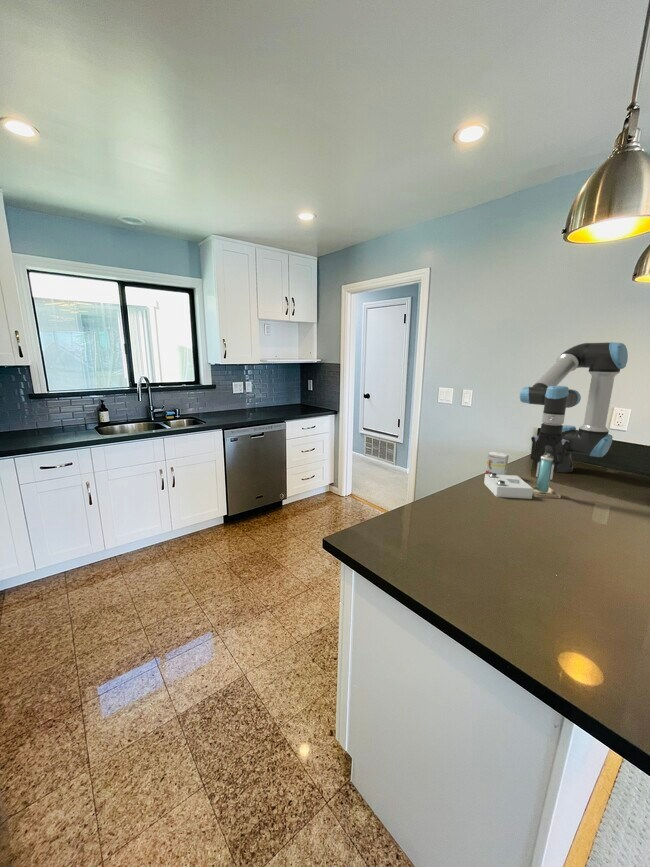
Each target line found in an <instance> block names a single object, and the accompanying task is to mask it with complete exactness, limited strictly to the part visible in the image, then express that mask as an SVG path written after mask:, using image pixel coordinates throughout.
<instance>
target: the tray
mask: <svg viewBox="0 0 650 867" xmlns="http://www.w3.org/2000/svg"><path fill="white" fill-rule="evenodd" d="M530 486H531V487H532V488H533V494H532V497H534V498H542V499H543V498H545V499H547V498H548V499H561V494H559V493H558V492H557V491H555V490H554V489H552V488H551V487H550V486H549V489H548V492H540V491H538V490H536V487H537V485H536V486H535V485H530Z"/></svg>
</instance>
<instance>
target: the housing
mask: <svg viewBox="0 0 650 867" xmlns="http://www.w3.org/2000/svg"><path fill="white" fill-rule="evenodd" d="M499 480H502V481H505V486H498V481H499ZM483 481H484V482H483V484H484V485H485V486H486V487H487V488H488V490H490V491H491V493H492V494H493V495H494V496H495V497H496V498H511V499H512V498H513V499H529V500H531V499H533V495H532V494H533V488H532V487H531V486H532V485H530V484H528V483H527V482H526V481H525V480H523V479H522V478H521V477H520V476H519V475H513V474H511V475H510V474H509V475H508V474H506V475H496V478H490V474H486V473H484V480H483Z"/></svg>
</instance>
